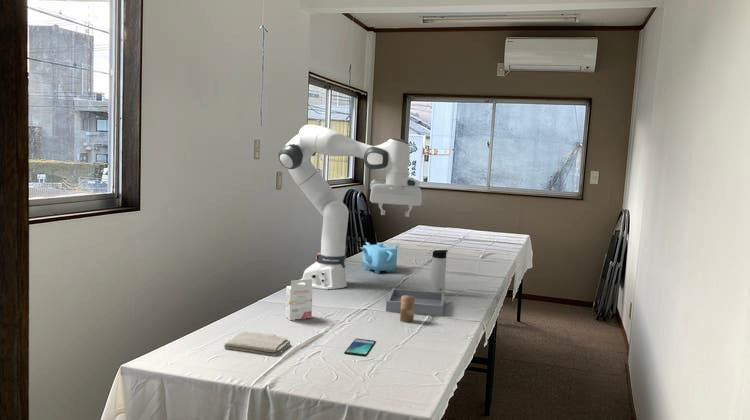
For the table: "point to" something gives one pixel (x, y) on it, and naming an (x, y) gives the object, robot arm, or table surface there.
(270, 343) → the washcloth
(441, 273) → the travel mug
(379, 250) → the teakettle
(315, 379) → the table surface
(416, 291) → the tray
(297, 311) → the ink cartridge box
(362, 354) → the smartphone
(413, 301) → the tan rounded cylinder
